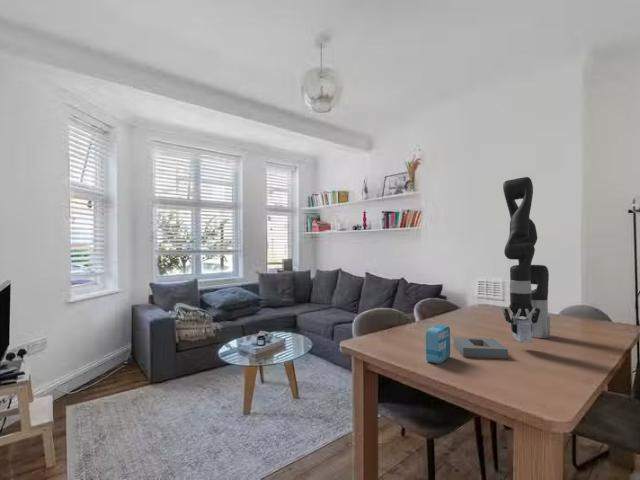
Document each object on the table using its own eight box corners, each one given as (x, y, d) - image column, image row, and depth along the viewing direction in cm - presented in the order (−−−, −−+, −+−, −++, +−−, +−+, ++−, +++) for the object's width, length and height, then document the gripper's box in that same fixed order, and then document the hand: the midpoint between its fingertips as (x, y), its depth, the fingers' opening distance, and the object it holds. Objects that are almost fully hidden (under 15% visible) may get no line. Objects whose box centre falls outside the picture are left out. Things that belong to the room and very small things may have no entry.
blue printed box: (437, 365, 120) (437, 331, 120) (425, 362, 123) (425, 329, 123) (450, 356, 129) (450, 325, 129) (439, 354, 132) (438, 323, 132)
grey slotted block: (493, 346, 141) (493, 338, 141) (507, 358, 126) (507, 349, 126) (453, 345, 143) (453, 337, 143) (463, 356, 129) (463, 347, 129)
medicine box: (532, 343, 132) (531, 321, 132) (519, 342, 132) (519, 321, 132) (523, 337, 139) (523, 316, 139) (512, 337, 140) (511, 316, 140)
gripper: (534, 289, 139) (535, 330, 139) (498, 290, 141) (499, 330, 141) (544, 292, 131) (545, 336, 131) (505, 292, 133) (506, 335, 133)
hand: (521, 332), depth 136 cm, fingers closed on medicine box, 4 cm apart
